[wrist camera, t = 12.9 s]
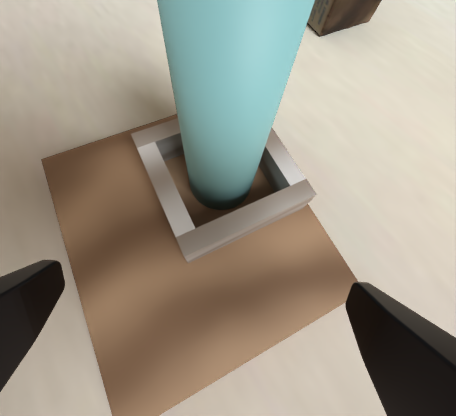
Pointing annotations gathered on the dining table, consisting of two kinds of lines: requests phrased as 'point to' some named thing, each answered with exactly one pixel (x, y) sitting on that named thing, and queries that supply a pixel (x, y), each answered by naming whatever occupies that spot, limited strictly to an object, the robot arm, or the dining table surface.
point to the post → (229, 85)
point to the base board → (186, 264)
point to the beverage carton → (340, 14)
